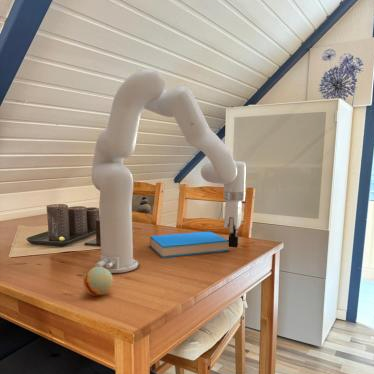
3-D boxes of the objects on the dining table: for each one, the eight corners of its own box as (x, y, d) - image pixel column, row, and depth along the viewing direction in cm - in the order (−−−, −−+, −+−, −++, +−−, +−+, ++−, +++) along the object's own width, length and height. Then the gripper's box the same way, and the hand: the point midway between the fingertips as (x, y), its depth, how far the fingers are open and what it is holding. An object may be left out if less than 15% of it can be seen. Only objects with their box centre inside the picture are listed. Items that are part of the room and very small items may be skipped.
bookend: (105, 246, 132) (104, 220, 130) (84, 244, 134) (83, 219, 132) (122, 238, 145) (122, 214, 143) (103, 237, 147) (102, 213, 146)
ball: (118, 294, 86) (118, 267, 85) (93, 303, 81) (92, 274, 80) (103, 287, 91) (102, 261, 89) (78, 294, 86) (77, 267, 85)
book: (229, 240, 126) (162, 245, 117) (228, 252, 126) (162, 258, 117) (209, 230, 141) (149, 234, 132) (209, 241, 142) (149, 245, 133)
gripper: (227, 193, 132) (226, 241, 135) (219, 198, 118) (218, 251, 121) (247, 194, 130) (246, 242, 133) (241, 199, 115) (240, 253, 119)
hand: (233, 246), depth 127 cm, fingers closed
